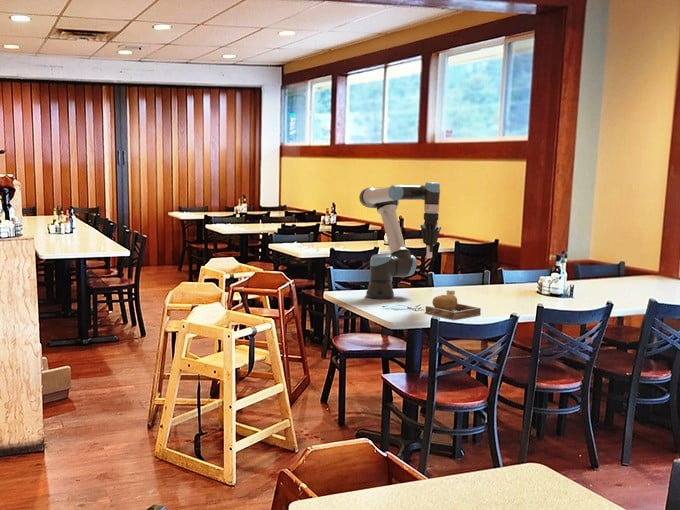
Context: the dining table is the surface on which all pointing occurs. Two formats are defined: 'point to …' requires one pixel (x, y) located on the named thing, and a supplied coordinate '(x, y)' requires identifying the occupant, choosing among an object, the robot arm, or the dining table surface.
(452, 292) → the pepper shaker
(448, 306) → the potato
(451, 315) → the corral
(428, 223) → the robot arm
